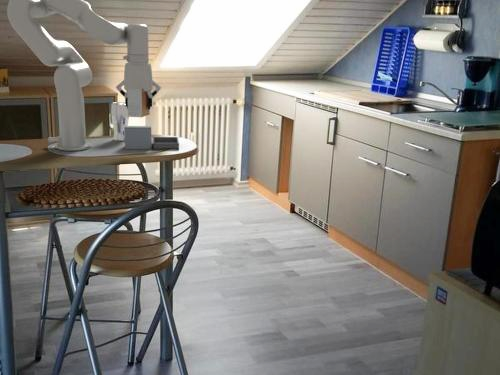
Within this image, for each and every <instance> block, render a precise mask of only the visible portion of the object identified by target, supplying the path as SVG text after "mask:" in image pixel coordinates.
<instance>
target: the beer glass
mask: <svg viewBox="0 0 500 375" xmlns="http://www.w3.org/2000/svg"><path fill="white" fill-rule="evenodd" d="M110 107H111V111H110V114H111V122H112V126H113V141H114V140H115V142H125V129H124V127H125V126H129V119H130V117H128V109H127V106H125V101H124V102H123V101H118V102H116V101H115V102H111V106H110Z"/></svg>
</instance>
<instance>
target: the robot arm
mask: <svg viewBox="0 0 500 375" xmlns="http://www.w3.org/2000/svg"><path fill="white" fill-rule="evenodd" d="M91 7H92V6H91V4H90V3H89V2H88V1H86V0H9V1H8V4H7V9H6V13H7V18H8V22H9V23H10V24H9V25H11V27H12V28H13V30H14V31H15V32H16V34H17V35H18V36H19V37H20V38H21V39H22V40H23V42H24V43H25V44H26V45H27V47H29V49H30V50H31V51H32V52H33V54H34V55H35V56H36V57H37V58H38V60H40V62H42V64H43V65H45V66H47V67H57V68H56V70H55V72H54V75H53V82H54V85H55V86H54V87H55V91H56V97H57V111H58V125H59V126H58V129H59V135H58V136H54V137H53V136H48V138H47V142H48V143H53V144H55V143H56V144H55V146H56V149H57V150H59V151H64V152H65V151H66V152H67V151H74V152H75V151H84V150H87V149H89V148H91V143H90V142H87V138H86V132H87V131H86V116H85V115H86V113H85V112H86V111H85V99H84V94H83V89H82V88H84V87H86V86H88V85H89V84H90V83H91V82H92V79H93V72H92V69H91V67H90V66H89V64H88V63H87V62H86V61H85V60H84V58H83V57H82V55H80V54H79V52H78V51H77V50H76V49H75V48H74V47H73V45H72V44H70V43H69V42H68V41H66V40H63V39H55V38H53V37H52V36H51V35H50V34H49V32H47V30H46V29H45V28H44V26H42V24H40V23H39V22H37V21H36V20H35V19H41V18H42V19H43V18H45V17H50V16H52V15H56V14H59V15H61V16H62V17H65V18H66V19H68V20H69V21H71V22H73V23H75V24H76V25H78V26H79V27H80V29H82V30H83V31H84V32H85V33H86V34H88V35H90V36H91V37H93V38H95V39H97V40H98V41H99V42H102V43H103V44H106V45H108V46H110V45H111V46H114V45H125V44H126V51H127V52H126V53H127V54H126V55H122V58H123V60H125V61H126V62H125V64H124V72H123V73H124V74H123V80H122V81H121V82H119V84H117V85H116V86H115V88H116V89H117V91H118V93H120V94H121V95H122V97H123V98H124V102H125V106H127V109H128V92H127V90H128V88H143V89H144V92H147V93H148V95H149V98H148V109H150V110H151V108H153V98H154V97H155V96H156V95H157V94H158V92H159V91H160V90H161V86H160V85H159V84H158V83H156V81H154V80H153V71H152V70H153V69H152V65H151V63H149V57H150V56H149V28H148V26H147V25H146V24H144V23H141V24H140V23H130V24H128V23H124V22H111V21H109V20H107V19H105V18H103V17H102V16H100V15H99V14H97V13H96V12H94V11H93V9H92V8H91ZM122 87H123V88H124V89H122ZM153 87H154V88H155V89H154V90H153ZM124 90H125V91H124ZM152 90H153V92H152Z"/></svg>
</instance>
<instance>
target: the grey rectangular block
mask: <svg viewBox="0 0 500 375" xmlns="http://www.w3.org/2000/svg"><path fill="white" fill-rule="evenodd" d="M124 129H125V141H124V149H125V150H147V149H148V150H149V149H151V150H152V148H153V143H152V126H151V125H128V126H125V127H124Z"/></svg>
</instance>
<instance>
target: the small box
mask: <svg viewBox="0 0 500 375" xmlns="http://www.w3.org/2000/svg"><path fill="white" fill-rule="evenodd" d="M127 92H128V117H129V118H144V117H146V116H150V114H151V113H150V111H151V108H150V109H148V98H149V95H148V93H147V92H144V89H143V88H128V90H127Z"/></svg>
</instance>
